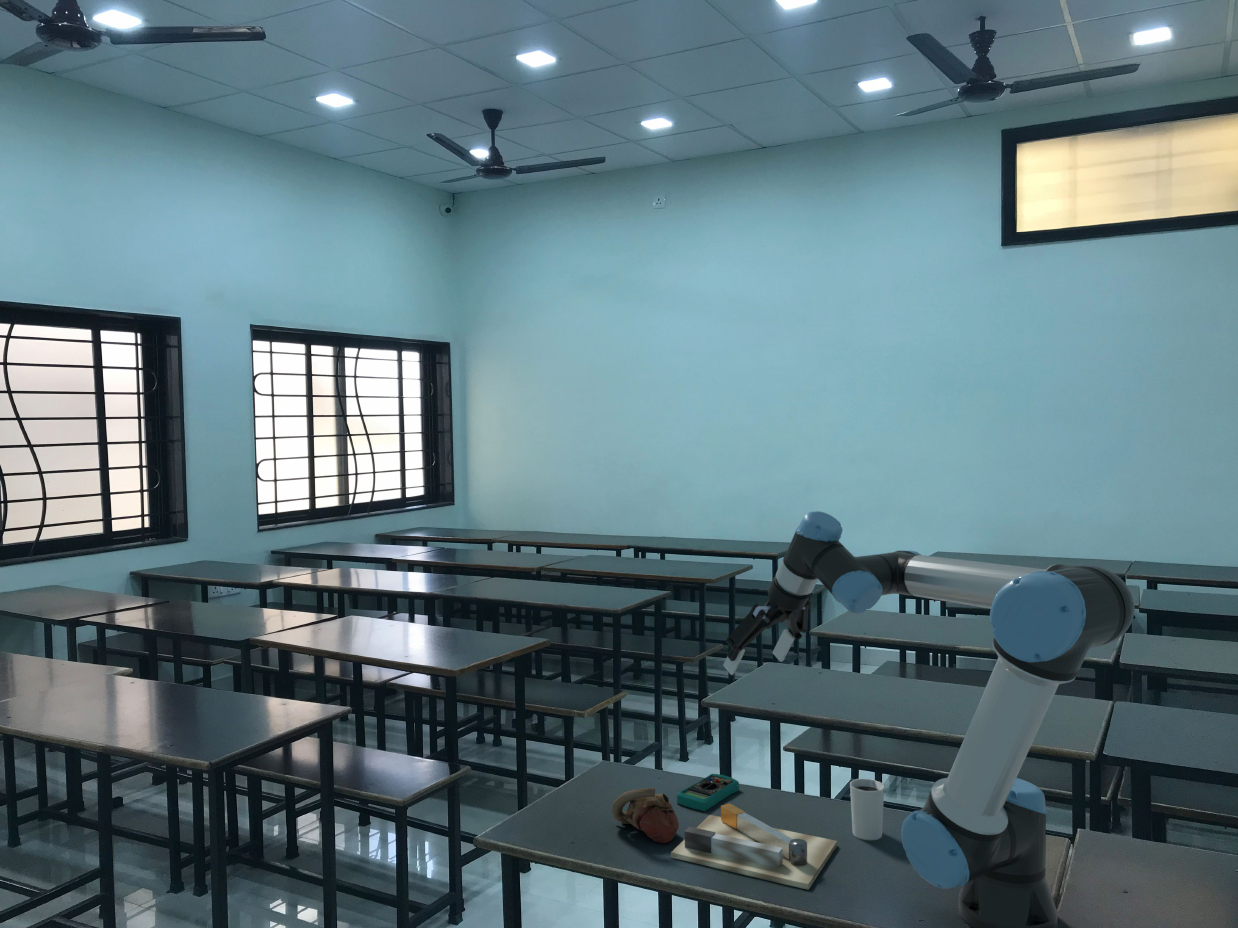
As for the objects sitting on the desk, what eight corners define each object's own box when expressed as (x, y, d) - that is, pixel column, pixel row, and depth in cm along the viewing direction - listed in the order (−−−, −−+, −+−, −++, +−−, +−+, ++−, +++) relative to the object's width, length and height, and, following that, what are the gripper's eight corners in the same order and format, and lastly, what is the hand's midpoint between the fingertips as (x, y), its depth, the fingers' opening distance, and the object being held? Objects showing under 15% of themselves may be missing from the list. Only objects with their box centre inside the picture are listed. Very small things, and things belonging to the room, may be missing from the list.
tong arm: (810, 862, 167) (810, 843, 167) (797, 867, 165) (797, 847, 165) (731, 817, 187) (731, 800, 187) (719, 820, 185) (719, 803, 185)
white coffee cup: (855, 841, 178) (855, 791, 177) (846, 826, 184) (845, 778, 184) (889, 840, 178) (888, 790, 178) (878, 825, 185) (877, 778, 184)
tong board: (837, 845, 176) (836, 824, 176) (808, 889, 159) (808, 866, 159) (709, 819, 189) (709, 799, 189) (671, 857, 172) (670, 835, 172)
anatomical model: (672, 859, 180) (614, 824, 189) (695, 822, 184) (638, 790, 193) (656, 829, 172) (596, 794, 181) (681, 791, 176) (621, 759, 185)
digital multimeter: (741, 790, 205) (741, 777, 205) (704, 813, 193) (704, 799, 193) (712, 783, 210) (712, 770, 209) (675, 805, 197) (675, 791, 197)
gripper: (825, 562, 180) (785, 639, 191) (732, 579, 166) (695, 661, 177) (850, 587, 176) (808, 664, 186) (757, 606, 161) (717, 689, 172)
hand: (753, 663), depth 181 cm, fingers open, 13 cm apart
